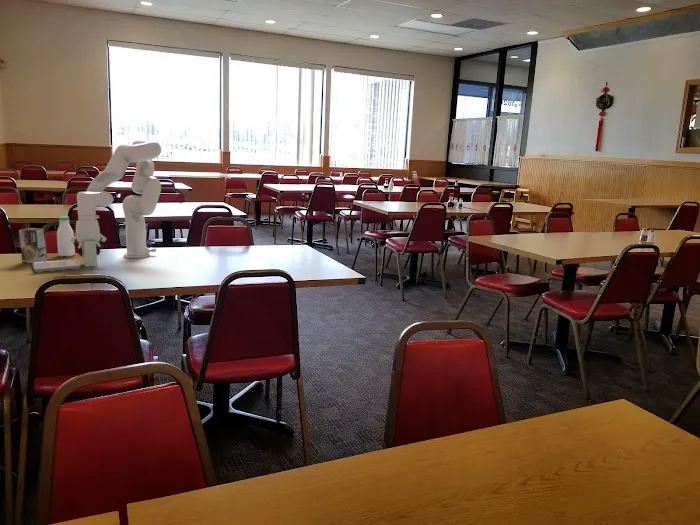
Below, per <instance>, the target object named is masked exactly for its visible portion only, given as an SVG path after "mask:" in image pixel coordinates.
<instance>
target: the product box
mask: <svg viewBox="0 0 700 525" xmlns="http://www.w3.org/2000/svg"><path fill="white" fill-rule="evenodd" d="M96 246H97V244H96V241H95V240H94V241H83V243H82V245H81V248H82V256H81V257H82V264H83V265H84V266H85V268H87V267H88V268H89V266H90V267H97V266H98V257H97V256H98V255H97V253H96Z"/></svg>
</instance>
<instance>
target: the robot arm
mask: <svg viewBox="0 0 700 525" xmlns="http://www.w3.org/2000/svg"><path fill="white" fill-rule="evenodd" d="M161 153H162V146H161V145H160V143H159V142H158V141H155V140H146V139H145V140H144V139H142V140H140V139H139V140H135V141H133V142H132V143H131V144H120V145H118V146H117V147H116V148H115V150H114V151H113V154H112V156H111V157H110V159H109V162H107V165H106V167H105V168H104V170H102V171H101V172H100V173H98V174H97V175H96V177H94V178H93V179H92V180H91V182H90V183H89V185H88V187H87V188H86V191H78V192H77V193H76V203H77V219H78V220H77V221H75V222H76V223H75V234H74V237H73V238H71V239H70V241H71V242H72V243H73V244H74V246H75V247H76V248H77V252H78V255H79V256H80V257H83V256H82V243H83V241H94V240H95V241H96V253H97V256H100V254H101V246H102V245H103V244H104V243H105V242H106V241H107V237H106V236H104V235H103V234H102V233H101V230H100V225H99V221H98V220H97V219H100V215H98V214H96V211H97V210H96V207H101V208H102V207H104V208H106V207H109V206H111V205H112V204H113V202H114V197H113V195H112V193H111V192H108V191H106V190H105V189H106V188H107V187H108V186H110V185H111V184H113V183H115V182H118V181H119V180H121V179H123V177H124V175H125V174H126V172H127V169H128V167H129V166H130V163H133V164H134V163H136V167H135V168H136V169H135V172H134V175H133V178H132V180H131V181H132V182H131V190H132V191H133V193H135V194H138V195H135V194H133V195H132V194H130V195H127V196H126V197H124V198H123V201H122V206H121V207H122V211H123V215H124V219H125V220H124V222H125V239H126V241H125V243H126V253H124V254H123V257H124V258H127V259H144V258H148V257H150V255H151V254H150V253H156V252H157V248H156V247H148V246H147V234H146V233H147V232H146V220H145V216H150V215H152V214H153V213H154V212H155V210H156V208H157V204H158V202H159V198H160V195H161V192H162V184H161V181H160V180H159V179H158V178H157V177H155V176H154V172H155V163H154V161H153V159H156V158H158V157H159V156H160V155H161ZM104 190H105V191H104ZM75 240H76V241H77V242H76V241H75Z"/></svg>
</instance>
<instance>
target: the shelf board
mask: <svg viewBox="0 0 700 525" xmlns="http://www.w3.org/2000/svg"><path fill="white" fill-rule="evenodd" d="M32 269H33V271H34V273H35V272H37V273H42V272H41V271H50V272H53V271H52V270H62V271H64V270H63V269H74V270H80V269H81V264H80V258H79V259H77V258H76V259H62V260H60V259H59V260H50V261H49V260H47V261H46V262H34V263H32Z"/></svg>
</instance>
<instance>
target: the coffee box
mask: <svg viewBox="0 0 700 525" xmlns="http://www.w3.org/2000/svg"><path fill="white" fill-rule="evenodd" d="M45 229H46V228H40V227H38V228H37V227H35V228H34V227H26V228H21V229H19V230H18V234H19V242H20V243H19V245H20V253H21V262H27V263H26V264H33V263H34V262H44V261H48V254H47V253H48V252H47V243H46V231H45Z"/></svg>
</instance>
